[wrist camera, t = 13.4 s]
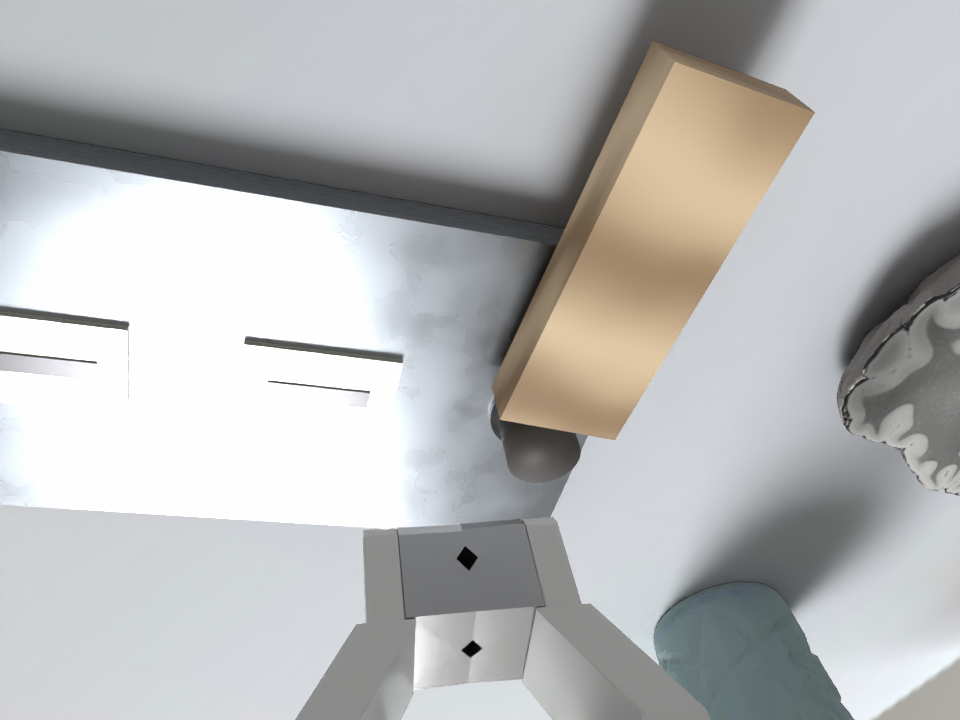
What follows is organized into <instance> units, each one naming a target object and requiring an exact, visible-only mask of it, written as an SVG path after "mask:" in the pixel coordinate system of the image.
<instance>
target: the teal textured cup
mask: <svg viewBox="0 0 960 720" xmlns="http://www.w3.org/2000/svg"><path fill="white" fill-rule="evenodd" d="M654 646H655V651H656V655H657V658H658V661H659V666H660V667H661V668H662V669H663V670H664V671H665V672H666V673H667V674H669V675H670V676H671V677H672V678H673V679H674V680H675V681H676V682H677V683H678V684H680V685H681V686H682V687H683V688H684V689H685V690H686V691H687V692H688V693H689V694H691V695H692V696H693V697H694V698H695V699H696V700H697V701H698V702H699V703H700V704H702V705H703V706H704V707H705V708H706V709H707V712H708V714H709V717H710V719H711V720H854V719H853V718H852V716H851V714H850V713H849V711H848V710H847V709H846V708H845V707H844V706H843V705H842V703H841V702H840V701H841V696H840V694H839V692H838V690H837V688H836V687H835V685H834V684H833V682H832V680H831V679H830V677H829V676H828V674H827V672H826V671H825V669H824V667H823V665H822V664H821V662H820V660H819V658H818V656H816V655H814V654H812V653H811V651H810V647H809V645H808V643H807V638H806V637H805V634H804V632H803V631H802V629H801V627H800V625H799V624H798V622H797V620H796V619H795V617H794V615H793V614H792V612H791V610H790V608H789V606H788V605H787V603H786V601H785V600H784V599H783V597H782V596H781V595H780V594H779V593H778V592H777V591H776V590H774V589H773V588H771V587H769V586H767V585H764V584H760V583H754V582H734V583H727V584H722V585H718V586H714V587H710V588H707V589H704V590H702V591H700V592H697V593H695V594H693V595H691V596H689V597H687V598H685V599H683V600H682V601H680V602H679V603H677V604H676V605H675V606H673V607H672V608H671V609H670V610H668V611H667V612H666V613H665V614H664V616H663V617H662V618H661V619H660V621H659V622H658V624H657V626H656V629H655V632H654Z"/></svg>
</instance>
